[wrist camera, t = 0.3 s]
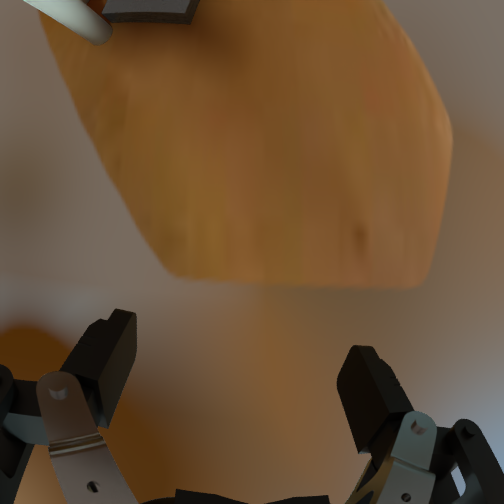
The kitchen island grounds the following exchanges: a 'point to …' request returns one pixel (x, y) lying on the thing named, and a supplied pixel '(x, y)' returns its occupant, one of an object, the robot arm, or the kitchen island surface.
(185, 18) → the hole plate
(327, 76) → the kitchen island surface
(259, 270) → the kitchen island surface
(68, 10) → the long pin
